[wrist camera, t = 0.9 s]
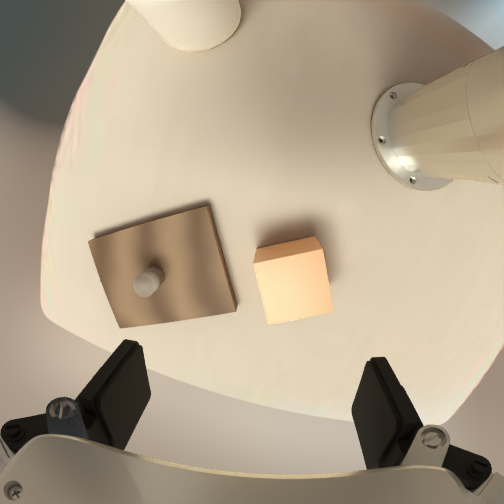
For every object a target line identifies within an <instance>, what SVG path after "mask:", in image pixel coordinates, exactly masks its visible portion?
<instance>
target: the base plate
mask: <svg viewBox="0 0 504 504" xmlns="http://www.w3.org/2000/svg"><path fill="white" fill-rule="evenodd" d="M88 244H89V247H90V250H91V253H92V256H93V259H94V262H95V265H96V268H97V271H98V274H99V277H100V280H101V282H102V285H103V288H104V291H105V293H106V296H107V298H108V301H109V303H110V306H111V308H112V311H113V313H114V316H115V318H116V320H117V323H118V325H119V327H120V328H128V327H136V326H144V325H152V324H159V323H167V322H174V321H181V320H187V319H194V318H200V317H207V316H213V315H219V314H225V313H231V312H236V309H237V303H236V299H235V296H234V292H233V289H232V285H231V281H230V278H229V274H228V271H227V267H226V264H225V260H224V256H223V253H222V249H221V245H220V242H219V238H218V234H217V231H216V227H215V223H214V219H213V216H212V212H211V208H210V205H207V206H203V207H200V208H196V209H192V210H189V211H185V212H181V213H178V214H174V215H170V216H167V217H163V218H160V219H156V220H153V221H150V222H146V223H143V224H139V225H136V226H133V227H130V228H126V229H123V230H120V231H117V232H113V233H110V234H107V235H104V236H101V237H98V238H95V239H92V240H90V241H88Z"/></svg>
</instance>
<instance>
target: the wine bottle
mask: <svg viewBox="0 0 504 504" xmlns="http://www.w3.org/2000/svg"><path fill="white" fill-rule="evenodd" d="M125 1H126V2H127V3H128V4H129V5H130V6H131V7H132V8H133V9H134V10H135V11H136V12H137V13H138V14H139V15H140V16H141V17H142V18H143V19H144V20H145V21H146V22H147V23H148V24H149V25H150V26H151V27H152V28H153V29H154V30H155V31H156V32H157V34H158V35H159V36H160V37H161V38H162V39H163V40H164V41H165V42H166V43H167V44H168V45H170V46H171V47H173V48H176V49H178V50H182V51H188V52H197V51H204V50H207V49H211V48H213V47H216V46H218V45H219V44H221V43H223V42H224V41H226V40H227V39H228V38H229V37H230V36H231V35H232V34H233V33H234V32H235V30H236V29H237V27H238V25H239V23H240V18H241V9H240V4H239V0H125Z"/></svg>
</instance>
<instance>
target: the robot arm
mask: <svg viewBox="0 0 504 504" xmlns="http://www.w3.org/2000/svg"><path fill="white" fill-rule="evenodd" d="M390 96H391V97H392V98H391V97H390ZM371 126H372V137H373V143H374V146H375V149H376V152H377V154H378V156H379V158H380V160H381V162H382V164H383V165H384V166H385V168H386V169H387V170H388V172H389V173H390V174H391V175H392V176H393V177H394V178H395V179H396V180H398V181H399V182H401V183H402V184H404V185H405V186H408V187H410V188H413V189H417V190H422V191H433V190H438V189H440V188H443V187H445V186H447V185H448V184H449V183H450V182H452V181H453V179H457V180H467V181H477V182H485V183H493V184H501V185H504V46H503V47H501V48H499V49H497V50H495V51H493V52H491V53H489V54H487V55H485V56H482V57H480V58H478V59H477V60H475V61H472V62H470V63H468V64H466V65H464V66H462V67H460V68H458V69H456V70H454V71H452V72H450V73H448V74H446V75H444V76H442V77H441V78H439V79H437V80H435V81H433V82H431V83H429V84H427V85H423V84H419V83H411V82H408V83H401V84H399V85H396V86H394V87H392V88H390V89H389V90H388V91H386V92H385V93H384V94H383V95H382V96H381V97H380V99H379V101H378V102H377V104H376V106H375V109H374V111H373V116H372V122H371ZM379 139H381V140H382V142H381V143H380V142H379ZM410 178H411V182H410ZM150 396H151V390H150V386H149V381H148V376H147V370H146V365H145V359H144V353H143V348H142V346H141V345H139V343H138V342H137V341H132V340H127V339H125V340H123V342H122V343H121V344H120V345H119V346H118V348H117V349H116V350H115V351H114V352H113V354H112V355H111V356H110V357H109V358H108V360H107V361H106V362H105V363H104V365H103V366H102V367H101V368H100V369H99V370H98V372H97V373H96V374H95V375H94V377H93V378H92V379H91V380H90V382H89V383H88V384H87V385H86V387H85V388H84V389H83V390H82V392H81V393H80V394H79V395H78V397H77V398H76V399H75V400H74V399H71V398H68V397H59V398H56V399H54V400H52V401H51V402H50V403H49V404H48V405H47V407H46V413H45V414H40V415H36V416H30V417H26V418H20V419H14V420H10V421H8V422H7V423H5V424H4V425H3V426H2V429H1V434H0V504H504V477H503V476H502V475H500V474H499V473H497V472H496V473H495V474H493V473H492V472H491V471H492V468H491V464H490V462H489V461H488V460H487V459H486V458H484V457H483V456H480V455H477V454H474V453H472V452H469V451H466V450H463V449H461V448H458V447H455V446H453V445H450V436H449V434H448V432H447V431H446V430H445V429H444V428H442V427H440V426H437V425H426V426H423V424H422V422H421V420H420V418H419V416H418V414H417V412H416V410H415V408H414V406H413V404H412V402H411V400H410V399H409V397H408V395H407V393H406V391H405V389H404V388H403V386H401V385H400V383H399V381H398V379H397V377H396V375H395V374H394V372H393V370H392V368H391V366H390V365H389V363H388V361H387V359H386V358H385V357H372V358H371V359H370V361H367V362H366V365H365V368H364V371H363V375H362V378H361V381H360V384H359V387H358V390H357V393H356V396H355V399H354V402H353V405H352V416H353V420H354V423H355V427H356V430H357V434H358V438H359V441H360V445H361V449H362V452H363V456H364V460H365V464H366V468H367V470H361V471H353V472H341V473H329V474H328V473H327V474H309V475H308V474H307V475H306V474H305V475H277V474H253V473H240V472H229V471H220V470H213V469H206V468H199V467H193V466H187V465H182V464H177V463H171V462H167V461H162V460H158V459H154V458H150V457H146V456H142V455H138V454H135V453H131V452H127V451H124V449H125V447H126V445H127V443H128V441H129V439H130V437H131V435H132V433H133V431H134V429H135V427H136V425H137V423H138V421H139V419H140V417H141V415H142V413H143V411H144V409H145V407H146V405H147V404H148V402H149V399H150Z"/></svg>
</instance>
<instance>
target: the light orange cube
mask: <svg viewBox="0 0 504 504" xmlns="http://www.w3.org/2000/svg"><path fill="white" fill-rule="evenodd" d="M253 265H254V269H255V273H256V277H257V281H258V285H259V289H260V293H261V297H262V301H263V305H264V309H265V313H266V317H267V321H268V324H269V325H270V324H275V323H281V322H286V321H291V320H296V319H301V318H306V317H311V316H315V315H320V314H324V313H329V312H333V308H332V301H331V295H330V288H329V282H328V276H327V270H326V264H325V258H324V252H323V248H322V247H321V245H320V243H319V242H318V240H317V239H316V237H315V236H313V237H308V238H303V239H299V240H294V241H289V242H285V243H280V244H276V245H271V246H266V247H262V248H257V250H256V254H255V258H254V262H253Z"/></svg>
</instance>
